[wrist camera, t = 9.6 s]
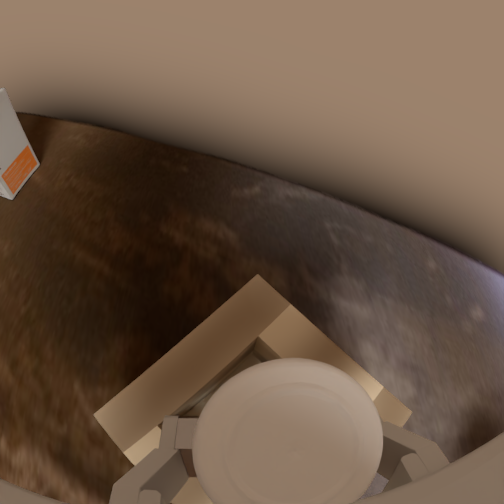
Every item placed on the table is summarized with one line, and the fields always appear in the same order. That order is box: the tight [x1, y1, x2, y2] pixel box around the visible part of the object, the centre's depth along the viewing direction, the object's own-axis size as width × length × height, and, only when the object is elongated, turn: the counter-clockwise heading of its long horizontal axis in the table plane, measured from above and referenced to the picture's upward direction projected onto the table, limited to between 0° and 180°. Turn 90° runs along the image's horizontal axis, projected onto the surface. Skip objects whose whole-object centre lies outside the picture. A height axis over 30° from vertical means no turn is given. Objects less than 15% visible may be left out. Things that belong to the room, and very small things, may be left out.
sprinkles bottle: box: [192, 358, 383, 504], centre depth 11 cm, size 5×5×13 cm
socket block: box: [93, 274, 412, 504], centre depth 15 cm, size 12×12×6 cm
